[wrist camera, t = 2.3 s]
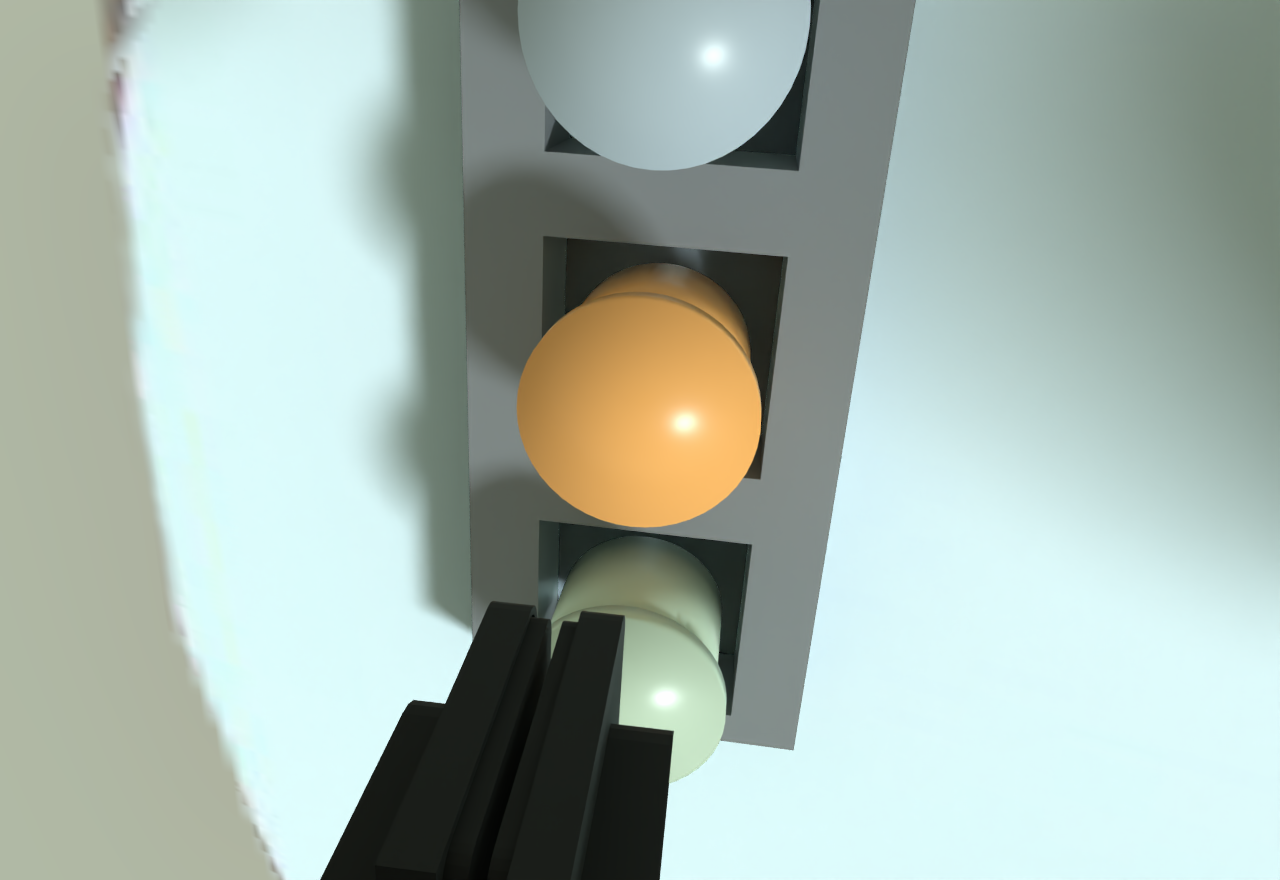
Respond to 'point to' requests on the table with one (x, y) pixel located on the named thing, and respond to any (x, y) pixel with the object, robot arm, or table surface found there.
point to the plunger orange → (643, 399)
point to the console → (697, 219)
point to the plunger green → (658, 638)
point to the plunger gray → (663, 72)
